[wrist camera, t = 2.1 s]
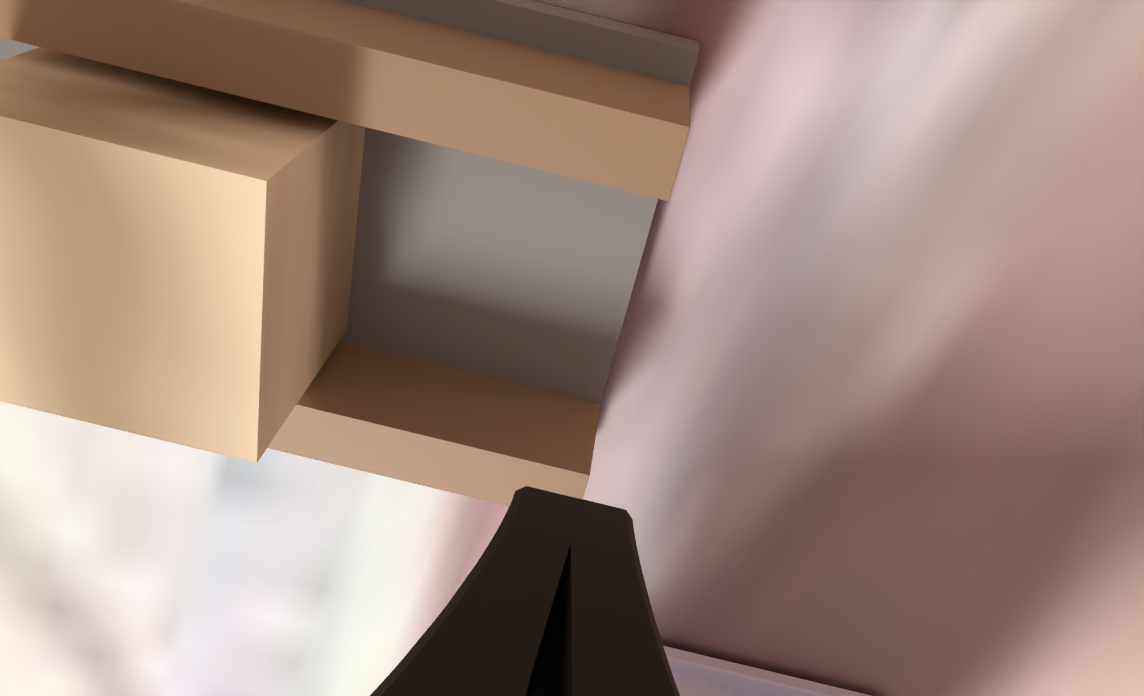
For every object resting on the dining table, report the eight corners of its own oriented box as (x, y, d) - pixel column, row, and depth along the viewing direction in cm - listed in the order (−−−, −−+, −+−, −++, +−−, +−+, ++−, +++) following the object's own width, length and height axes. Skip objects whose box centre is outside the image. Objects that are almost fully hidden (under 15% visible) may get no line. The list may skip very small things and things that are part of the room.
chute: (699, 41, 16) (701, 87, 13) (585, 447, 20) (569, 544, 18) (-538, -266, 15) (-805, -285, 13) (-362, 218, 20) (-528, 280, 17)
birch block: (368, 94, 16) (266, 181, 12) (346, 330, 19) (256, 462, 15) (95, 27, 16) (-95, 92, 12) (111, 273, 18) (-41, 391, 15)
